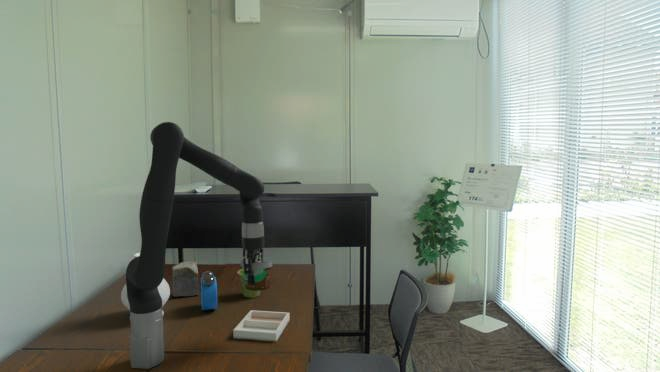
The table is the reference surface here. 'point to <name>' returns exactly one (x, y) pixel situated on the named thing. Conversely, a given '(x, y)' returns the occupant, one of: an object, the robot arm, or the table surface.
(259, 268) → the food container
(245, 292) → the plant pot
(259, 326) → the tray
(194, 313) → the table surface
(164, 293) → the decorative vase
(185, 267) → the geological specimen
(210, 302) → the alarm clock
